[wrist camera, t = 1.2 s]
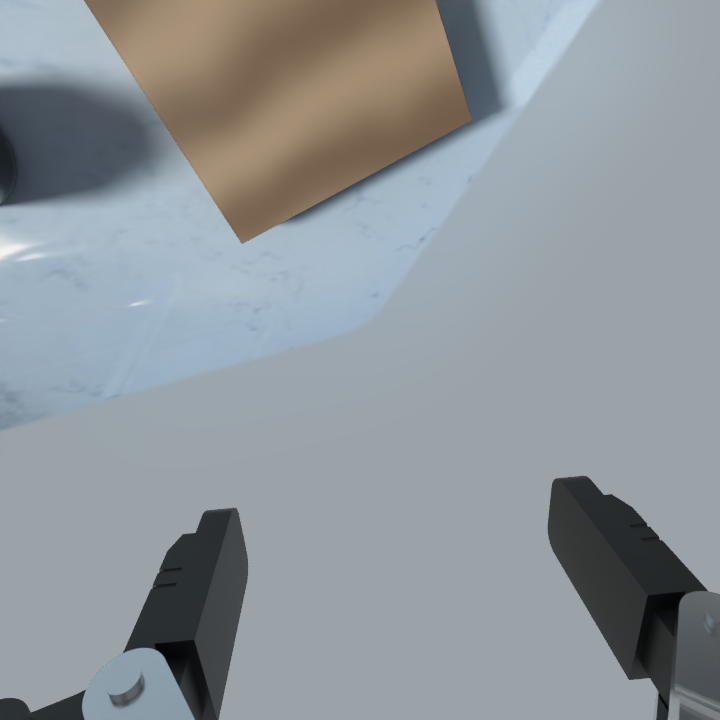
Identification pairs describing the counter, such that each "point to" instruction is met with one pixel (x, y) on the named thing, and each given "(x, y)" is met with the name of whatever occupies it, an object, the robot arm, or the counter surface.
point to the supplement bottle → (6, 169)
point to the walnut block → (289, 92)
